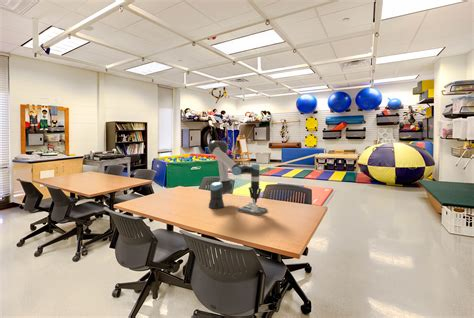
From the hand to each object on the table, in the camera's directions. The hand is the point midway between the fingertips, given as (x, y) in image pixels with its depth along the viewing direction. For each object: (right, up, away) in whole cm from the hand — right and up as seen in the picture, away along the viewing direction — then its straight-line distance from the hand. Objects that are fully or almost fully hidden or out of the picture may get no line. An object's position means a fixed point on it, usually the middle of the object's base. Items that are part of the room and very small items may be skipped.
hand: (254, 205), depth 228 cm
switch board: (-2, -5, -3) cm, 6 cm away
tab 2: (-1, -3, -8) cm, 9 cm away
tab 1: (-2, -2, +2) cm, 3 cm away
